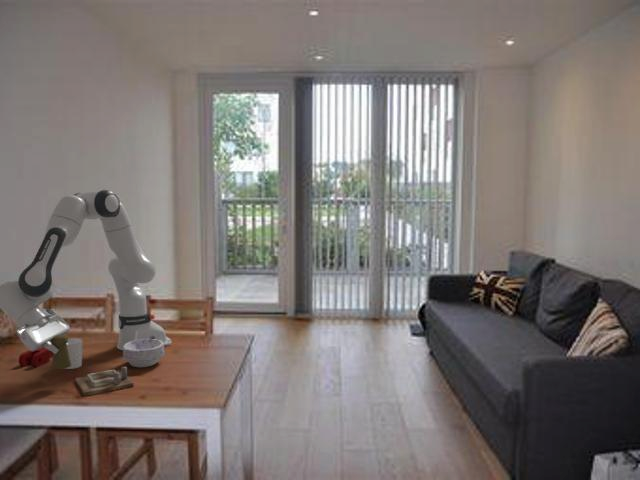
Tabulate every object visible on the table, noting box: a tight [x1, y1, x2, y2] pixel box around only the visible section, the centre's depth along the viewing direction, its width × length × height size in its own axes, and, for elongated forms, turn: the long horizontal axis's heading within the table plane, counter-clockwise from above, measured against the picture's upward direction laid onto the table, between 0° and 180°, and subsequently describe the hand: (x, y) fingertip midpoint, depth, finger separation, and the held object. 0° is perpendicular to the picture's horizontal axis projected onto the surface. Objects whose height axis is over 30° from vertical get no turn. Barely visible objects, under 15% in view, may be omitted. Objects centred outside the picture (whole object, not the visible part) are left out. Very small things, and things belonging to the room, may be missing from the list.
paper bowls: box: [122, 339, 165, 368], centre depth 217 cm, size 15×15×8 cm
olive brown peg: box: [51, 334, 71, 370], centre depth 193 cm, size 6×6×11 cm
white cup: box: [63, 337, 83, 370], centre depth 214 cm, size 8×8×10 cm
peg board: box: [75, 366, 135, 397], centre depth 196 cm, size 16×16×5 cm
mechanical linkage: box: [18, 347, 53, 368], centre depth 220 cm, size 16×7×5 cm, turn 170°
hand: (62, 349), depth 192 cm, fingers closed on olive brown peg, 4 cm apart
